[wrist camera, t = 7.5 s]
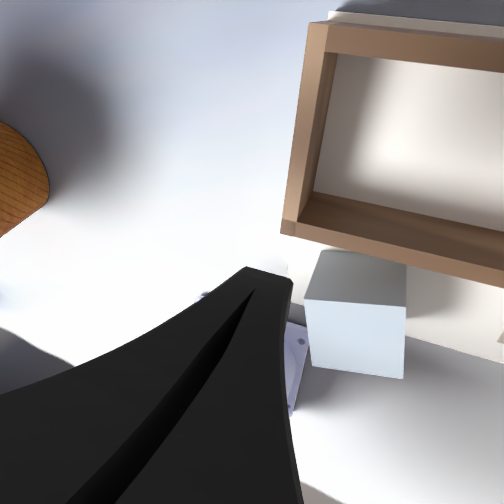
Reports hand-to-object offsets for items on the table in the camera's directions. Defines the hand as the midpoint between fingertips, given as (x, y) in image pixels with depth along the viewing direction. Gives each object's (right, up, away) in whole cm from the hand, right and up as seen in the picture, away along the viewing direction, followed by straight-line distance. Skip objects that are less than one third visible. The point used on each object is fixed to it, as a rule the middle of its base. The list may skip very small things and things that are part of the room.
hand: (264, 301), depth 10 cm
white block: (+5, 0, +9) cm, 10 cm away
